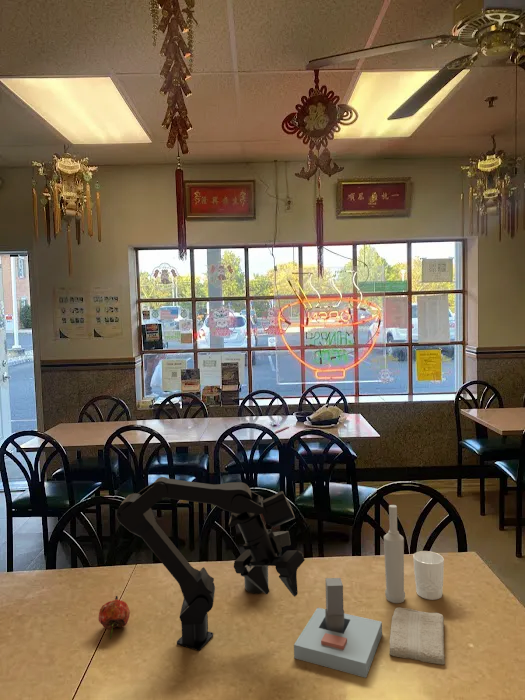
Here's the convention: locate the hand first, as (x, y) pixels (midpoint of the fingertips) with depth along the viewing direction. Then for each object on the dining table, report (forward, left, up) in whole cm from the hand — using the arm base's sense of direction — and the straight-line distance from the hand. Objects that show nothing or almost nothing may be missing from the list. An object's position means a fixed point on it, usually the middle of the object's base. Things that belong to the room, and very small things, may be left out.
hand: (281, 594), depth 115 cm
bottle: (+26, -22, -10) cm, 36 cm away
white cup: (+32, -30, -10) cm, 45 cm away
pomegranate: (-14, +39, -10) cm, 43 cm away
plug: (+4, -12, -10) cm, 16 cm away
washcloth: (+11, -29, -11) cm, 33 cm away
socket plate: (+1, -14, -10) cm, 17 cm away
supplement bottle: (+17, +15, -10) cm, 25 cm away
